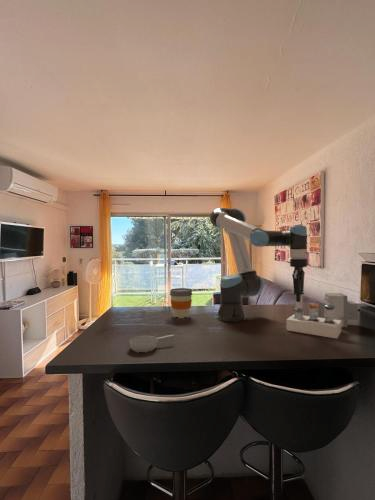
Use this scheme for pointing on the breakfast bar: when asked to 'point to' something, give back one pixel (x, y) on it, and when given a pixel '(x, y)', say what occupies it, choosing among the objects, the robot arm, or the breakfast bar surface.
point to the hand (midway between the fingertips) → (298, 308)
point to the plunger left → (298, 313)
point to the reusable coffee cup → (181, 302)
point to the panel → (314, 326)
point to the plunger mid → (313, 312)
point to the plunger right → (329, 314)
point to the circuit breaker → (342, 307)
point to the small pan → (145, 343)
